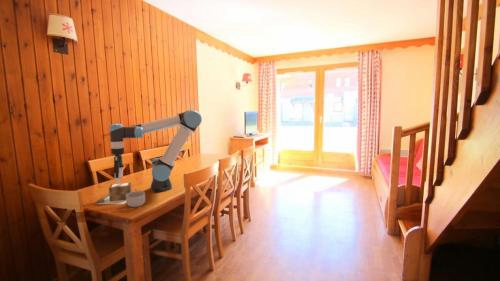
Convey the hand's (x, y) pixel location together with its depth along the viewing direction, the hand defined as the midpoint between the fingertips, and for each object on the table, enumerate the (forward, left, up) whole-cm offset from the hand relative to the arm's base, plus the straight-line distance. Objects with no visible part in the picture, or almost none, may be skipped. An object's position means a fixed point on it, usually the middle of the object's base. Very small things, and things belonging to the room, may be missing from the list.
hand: (119, 179), depth 166 cm
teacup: (-15, +10, -14) cm, 23 cm away
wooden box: (0, 0, -13) cm, 13 cm away
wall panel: (+2, 0, -13) cm, 13 cm away
